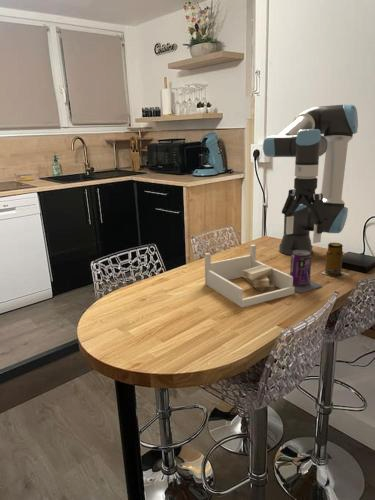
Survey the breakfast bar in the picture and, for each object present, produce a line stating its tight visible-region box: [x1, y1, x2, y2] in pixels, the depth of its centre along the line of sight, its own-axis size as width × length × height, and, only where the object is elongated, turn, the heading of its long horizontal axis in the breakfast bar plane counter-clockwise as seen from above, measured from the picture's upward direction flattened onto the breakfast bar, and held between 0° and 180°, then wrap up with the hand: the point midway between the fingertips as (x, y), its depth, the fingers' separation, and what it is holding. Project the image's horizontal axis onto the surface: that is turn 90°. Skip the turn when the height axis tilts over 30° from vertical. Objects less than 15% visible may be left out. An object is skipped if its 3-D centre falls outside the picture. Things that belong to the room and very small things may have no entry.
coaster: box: [293, 280, 323, 294], centre depth 140 cm, size 11×11×1 cm
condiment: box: [320, 242, 350, 279], centre depth 149 cm, size 7×8×12 cm
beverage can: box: [289, 250, 312, 286], centre depth 139 cm, size 7×7×12 cm
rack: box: [204, 244, 295, 308], centre depth 137 cm, size 22×24×12 cm
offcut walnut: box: [246, 278, 275, 293], centre depth 141 cm, size 5×12×2 cm, turn 18°
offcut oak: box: [252, 276, 269, 288], centre depth 140 cm, size 5×11×2 cm, turn 0°
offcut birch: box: [243, 264, 274, 280], centre depth 139 cm, size 5×10×2 cm, turn 123°
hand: (302, 238), depth 135 cm, fingers open, 13 cm apart
